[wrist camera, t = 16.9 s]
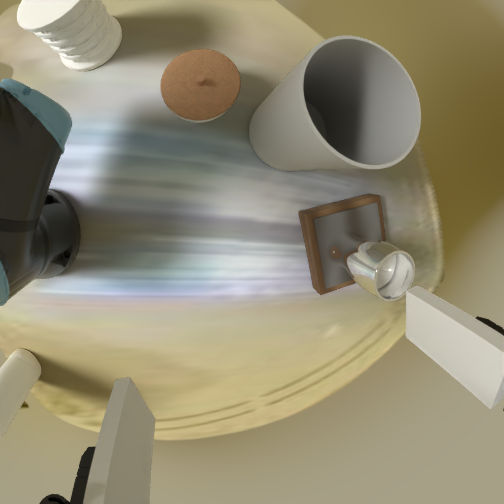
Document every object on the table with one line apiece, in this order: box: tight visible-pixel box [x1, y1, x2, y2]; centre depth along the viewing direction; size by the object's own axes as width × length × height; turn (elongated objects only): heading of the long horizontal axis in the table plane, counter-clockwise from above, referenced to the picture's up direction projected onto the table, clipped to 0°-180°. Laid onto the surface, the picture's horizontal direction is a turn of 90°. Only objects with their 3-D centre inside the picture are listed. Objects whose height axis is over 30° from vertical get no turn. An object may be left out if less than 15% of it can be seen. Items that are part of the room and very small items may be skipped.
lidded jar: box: [161, 49, 241, 123], centre depth 37 cm, size 11×11×9 cm
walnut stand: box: [298, 194, 386, 295], centre depth 50 cm, size 14×14×4 cm
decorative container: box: [17, 0, 122, 72], centre depth 27 cm, size 12×12×18 cm
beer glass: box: [327, 230, 415, 302], centre depth 40 cm, size 7×7×15 cm
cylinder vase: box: [249, 36, 421, 171], centre depth 33 cm, size 12×12×25 cm
